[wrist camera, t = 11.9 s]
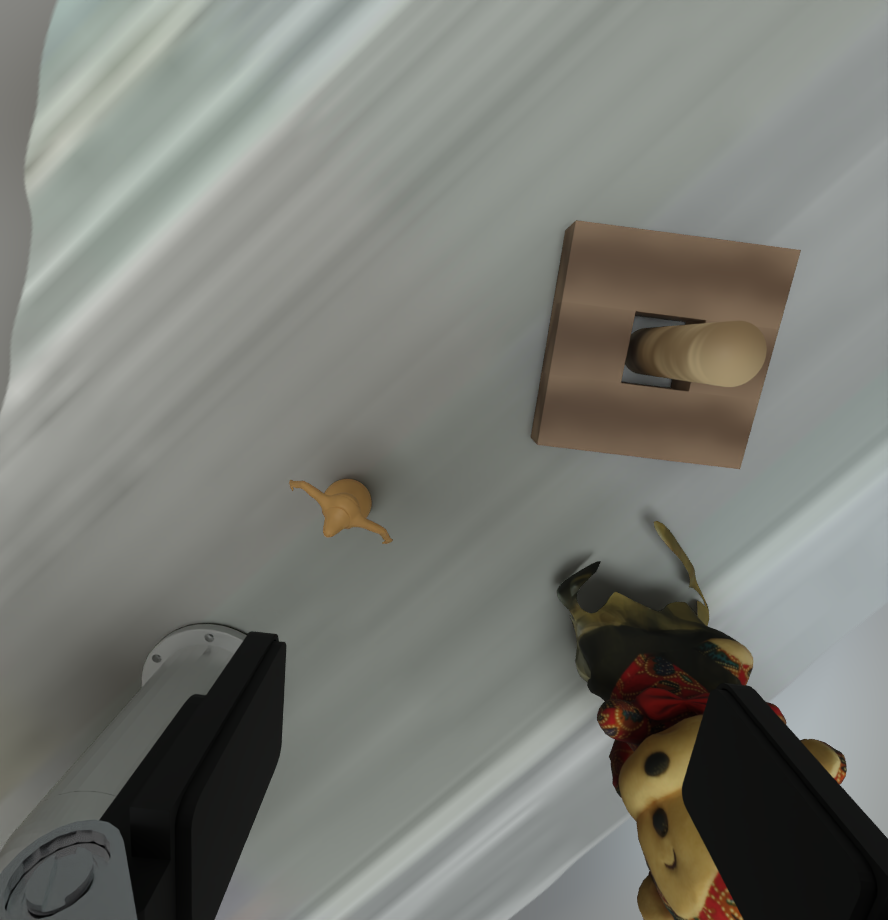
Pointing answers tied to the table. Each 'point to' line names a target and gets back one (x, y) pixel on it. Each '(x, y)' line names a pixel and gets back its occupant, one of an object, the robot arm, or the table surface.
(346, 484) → the figurine
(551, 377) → the socket block
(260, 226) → the table surface
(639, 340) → the peg
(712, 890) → the red green tall figure
